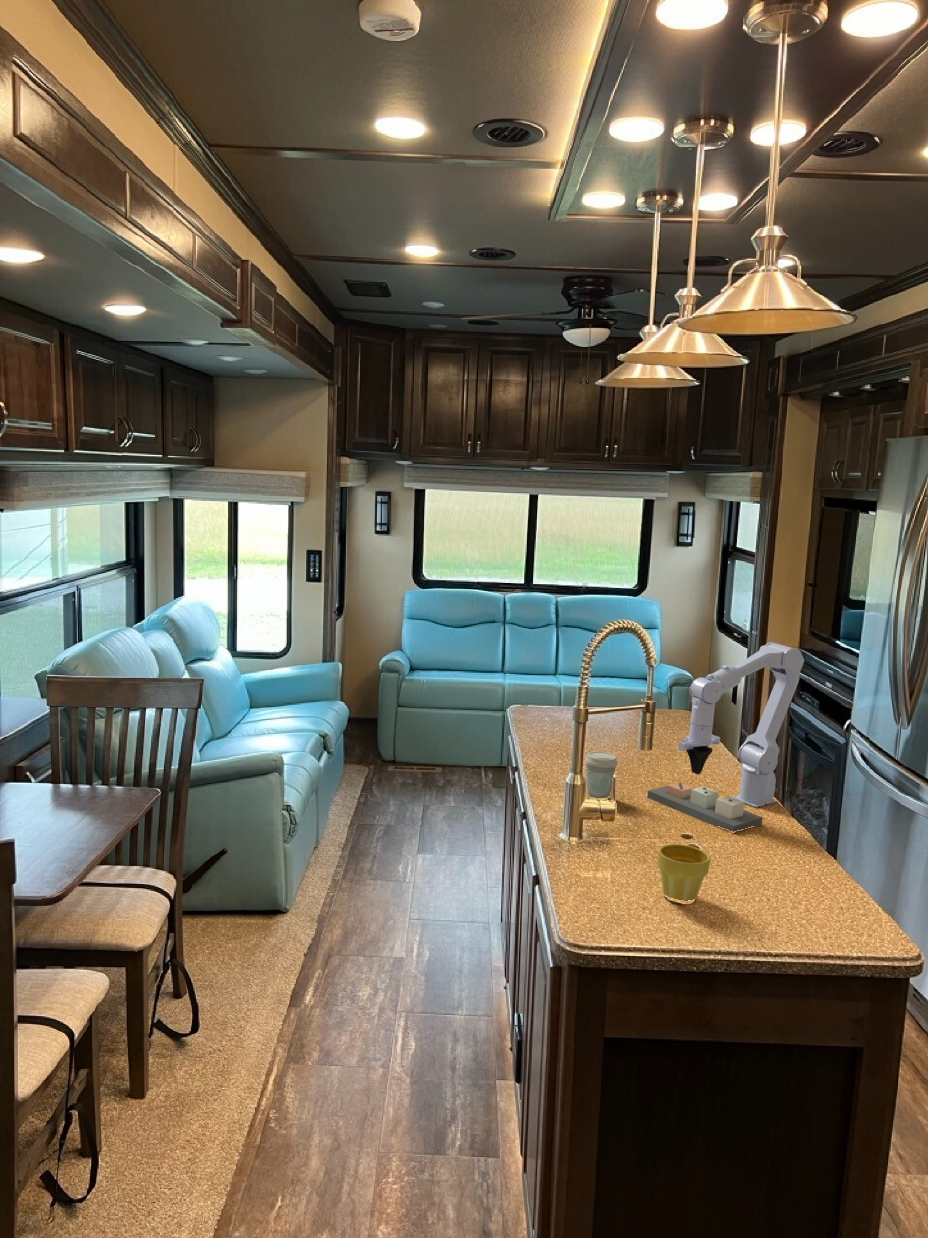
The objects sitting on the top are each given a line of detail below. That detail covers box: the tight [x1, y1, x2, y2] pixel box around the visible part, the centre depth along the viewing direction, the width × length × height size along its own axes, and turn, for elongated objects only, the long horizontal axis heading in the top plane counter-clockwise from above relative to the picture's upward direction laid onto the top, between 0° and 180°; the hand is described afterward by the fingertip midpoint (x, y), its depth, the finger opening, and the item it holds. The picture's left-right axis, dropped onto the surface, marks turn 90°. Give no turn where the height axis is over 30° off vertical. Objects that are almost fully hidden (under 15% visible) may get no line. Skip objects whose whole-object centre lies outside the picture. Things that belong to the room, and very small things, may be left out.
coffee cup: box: [585, 750, 618, 798], centre depth 242 cm, size 8×9×12 cm
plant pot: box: [657, 843, 711, 901], centre depth 187 cm, size 10×10×10 cm
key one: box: [715, 795, 745, 819], centre depth 232 cm, size 5×5×4 cm
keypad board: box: [646, 785, 763, 832], centre depth 239 cm, size 12×28×2 cm, turn 37°
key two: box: [690, 786, 720, 809], centre depth 238 cm, size 5×5×4 cm
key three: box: [666, 781, 695, 799], centre depth 245 cm, size 5×5×4 cm
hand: (696, 773), depth 240 cm, fingers closed
